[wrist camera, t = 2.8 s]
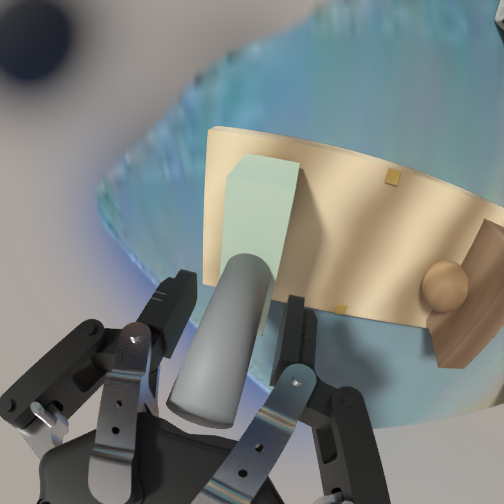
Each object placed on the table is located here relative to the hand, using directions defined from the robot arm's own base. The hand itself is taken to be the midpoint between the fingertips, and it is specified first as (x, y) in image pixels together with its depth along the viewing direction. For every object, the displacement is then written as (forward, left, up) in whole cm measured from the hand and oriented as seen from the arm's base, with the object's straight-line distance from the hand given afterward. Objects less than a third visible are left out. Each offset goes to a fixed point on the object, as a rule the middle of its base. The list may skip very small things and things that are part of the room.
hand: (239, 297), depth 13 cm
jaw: (0, 0, -6) cm, 6 cm away
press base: (-7, 0, -8) cm, 10 cm away
